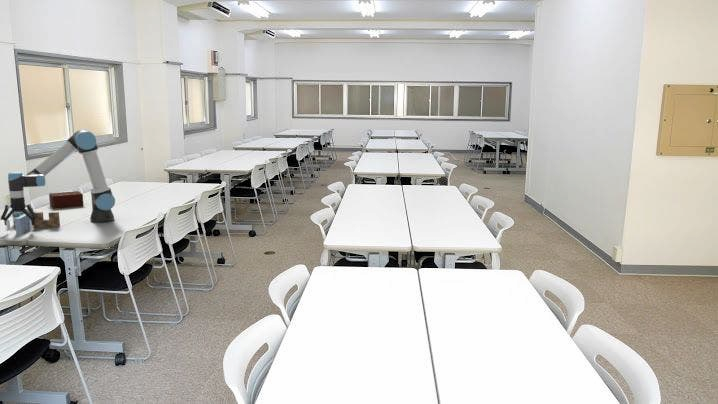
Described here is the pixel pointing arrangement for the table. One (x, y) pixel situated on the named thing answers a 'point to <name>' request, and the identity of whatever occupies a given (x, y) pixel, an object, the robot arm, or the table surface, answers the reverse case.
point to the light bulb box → (17, 214)
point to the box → (66, 199)
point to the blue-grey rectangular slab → (22, 224)
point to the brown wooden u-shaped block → (47, 220)
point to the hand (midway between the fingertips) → (20, 230)
